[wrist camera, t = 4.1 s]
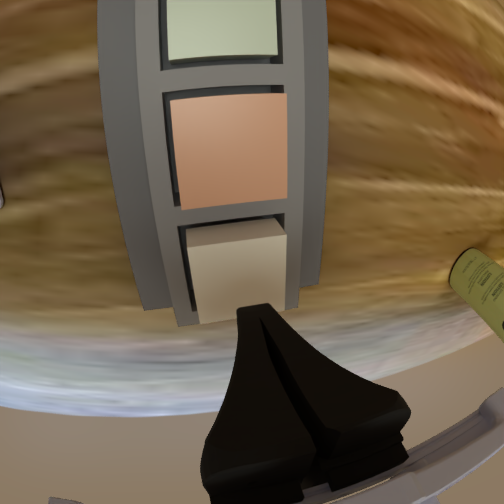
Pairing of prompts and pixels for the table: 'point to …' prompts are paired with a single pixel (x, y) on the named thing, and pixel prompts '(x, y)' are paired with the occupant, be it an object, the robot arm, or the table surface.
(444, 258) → the table surface
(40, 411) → the table surface
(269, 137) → the key terracotta
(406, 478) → the robot arm
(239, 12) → the key sage
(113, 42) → the grey flat slotted tray
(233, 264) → the key cream
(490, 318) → the tube
